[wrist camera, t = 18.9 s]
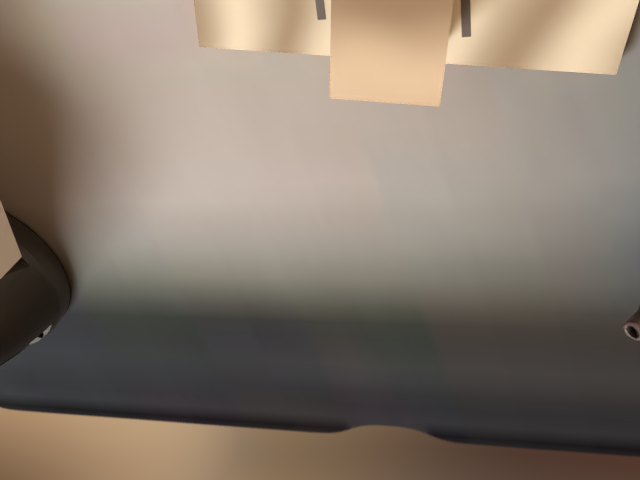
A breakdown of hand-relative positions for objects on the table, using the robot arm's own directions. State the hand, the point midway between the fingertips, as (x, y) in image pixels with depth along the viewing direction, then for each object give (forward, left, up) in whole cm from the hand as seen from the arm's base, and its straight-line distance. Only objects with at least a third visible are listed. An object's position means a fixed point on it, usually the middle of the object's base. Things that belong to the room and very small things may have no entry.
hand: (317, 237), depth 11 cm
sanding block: (0, 0, -25) cm, 25 cm away
